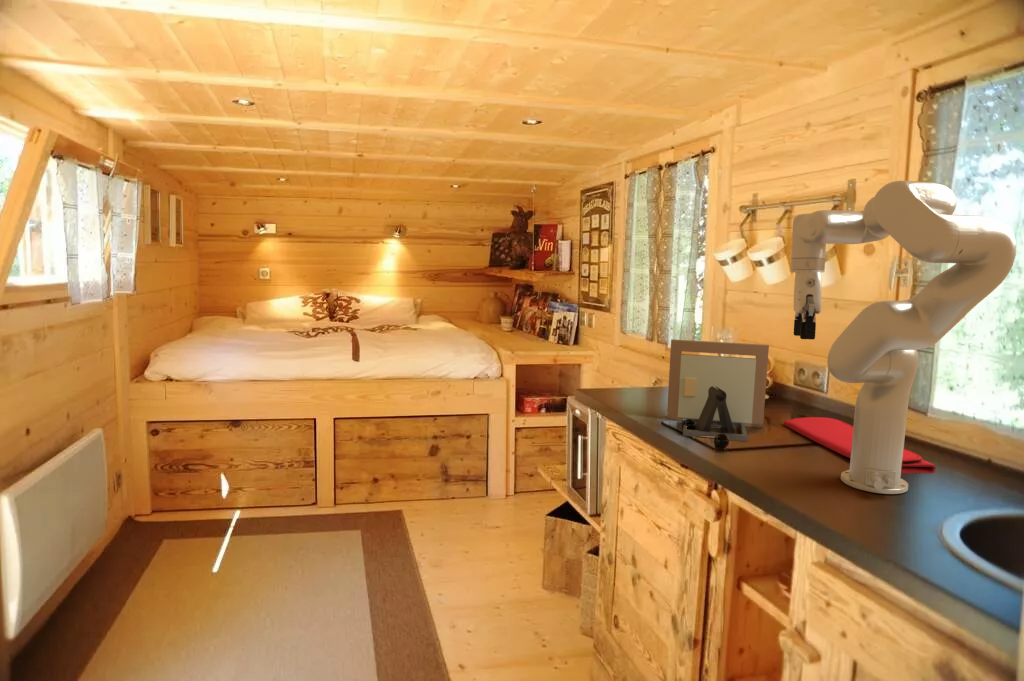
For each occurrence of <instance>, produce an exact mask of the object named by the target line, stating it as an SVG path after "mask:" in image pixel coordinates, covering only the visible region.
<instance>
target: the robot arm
mask: <svg viewBox="0 0 1024 681" xmlns="http://www.w3.org/2000/svg"><path fill="white" fill-rule="evenodd" d="M956 207H957V197H956V195H955V193H954V192H953V191H952V189H951V188H949V187H948V186H946V185H944V184H942V183H938V182H932V181H917V180H915V181H913V180H895V181H891V182H888V183H887V184H884V185H883V186H882V187H881V188H880V189H879V190H877V192H876V193H875V195H874V196H873V197H871V198H870V199H869V200H868V201H867V202H866V204H865V206H864V209H863V210H842V209H841V210H840V209H839V210H838V209H837V210H836V209H833V210H832V209H821V210H820V209H819V210H816V211H814V212H811V213H803V214H798V215H796V216H795V217H794V218H793V220H792V230H791V231H792V232H791V235H792V236H791V252H790V253H791V254H790V257H791V258H790V270H789V272H790V273H795V274H794V283H793V286H794V287H793V311H794V312H795V315H794V321H793V336H795V337H799V338H800V339H801V340H815V339H816V329H817V328H816V327H817V321H816V320H817V318H816V314H817V315H819V314H821V312H822V273H825V271H826V270H825V268H826V252H827V251H826V250H827V249H826V248H827V244H828V245H829V244H832V245H833V244H835V245H836V244H837V245H839V244H840V245H859V244H865V243H873V242H877V241H882V240H885V239H886V238H888V237H889V236H890V237H891V238H892V239H893V240H894V241H896V243H898V244H899V245H900V246H901V247H902V248H903V249H904V250H905V251H906V252H907V253H908V254H909V255H910V256H912V258H915V259H916V260H919V261H921V262H925V263H930V264H931V263H932V264H954V265H952V266H950V267H949V268H947V269H946V270H944V271H942V272H941V273H939V274H937V275H935V276H934V277H932V279H931V280H929V282H927V284H925V285H924V287H923V288H922V289H921V290H920V291H919V292H918V293H917V294H915V295H913V297H911V298H908V299H904V300H883V301H878V302H877V301H876V302H874V303H872V304H870V305H867V306H866V307H865V308H863V309H862V310H861V311H860V312H859V313H858V314H857V315H856V316H855V317H854V319H853V320H852V321H851V322H850V323H849V324H848V325H847V326H846V328H845V329H843V331H842V332H841V333H840V335H839V336H838V337H837V338H836V340H835V341H834V342H833V343H832V345H831V347H830V349H829V351H828V355H827V367H828V371H829V373H830V374H831V376H833V377H834V378H835V379H836V380H838V381H840V382H843V383H846V384H847V383H849V384H862V385H861V388H860V389H859V391H858V394H857V397H856V400H855V409H854V415H853V416H854V418H853V426H854V427H853V438H852V448H851V459H850V458H849V459H850V461H849V469H847V470H844V471H842V472H841V474H840V480H841V481H842V483H844V484H845V485H847V486H849V487H851V488H854V489H857V490H861V491H864V492H869V493H875V494H881V495H882V494H883V495H900V494H904V493H906V492H908V490H909V482H907V481H906V480H905V479H903V478H901V476H902V473H901V468H902V458H903V448H904V449H905V437H906V428H907V417H908V410H909V402H910V396H911V395H910V394H911V390H912V387H913V382H914V380H915V377H916V375H917V371H918V368H919V361H920V360H919V359H920V358H919V352H918V350H924V349H929V348H931V347H933V346H934V345H935V344H937V343H938V342H939V341H941V339H943V338H944V337H945V336H946V334H948V333H949V332H950V331H952V329H953V328H954V327H955V326H956V325H957V324H959V322H961V321H962V320H963V319H964V318H965V316H967V315H968V313H970V311H972V310H973V309H974V308H976V306H977V305H979V303H981V302H982V301H983V300H985V299H986V298H987V297H988V296H989V295H990V294H992V293H993V292H994V291H995V290H996V289H997V288H998V287H999V286H1000V285H1001V284H1002V283H1003V281H1005V279H1006V278H1007V276H1009V273H1010V272H1011V270H1012V268H1013V266H1014V263H1015V259H1016V256H1017V255H1016V254H1017V241H1016V236H1015V234H1014V232H1013V230H1012V229H1011V227H1010V226H1009V225H1008V224H1006V223H1005V222H1003V221H1002V220H999V219H997V218H993V217H988V216H983V215H971V214H970V215H968V214H967V215H966V214H963V215H961V214H954V212H955V211H956Z"/></svg>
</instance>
